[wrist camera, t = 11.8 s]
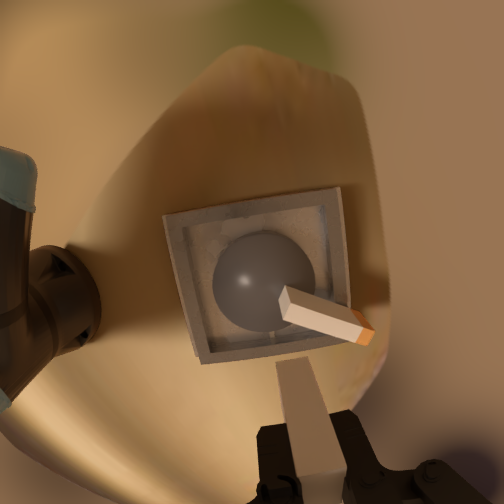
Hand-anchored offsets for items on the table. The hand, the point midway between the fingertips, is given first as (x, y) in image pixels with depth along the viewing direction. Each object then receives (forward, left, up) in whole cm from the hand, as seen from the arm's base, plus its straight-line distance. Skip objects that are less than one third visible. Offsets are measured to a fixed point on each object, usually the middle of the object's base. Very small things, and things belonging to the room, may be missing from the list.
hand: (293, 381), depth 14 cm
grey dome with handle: (+2, -3, -21) cm, 22 cm away
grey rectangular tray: (-1, -2, -22) cm, 22 cm away
